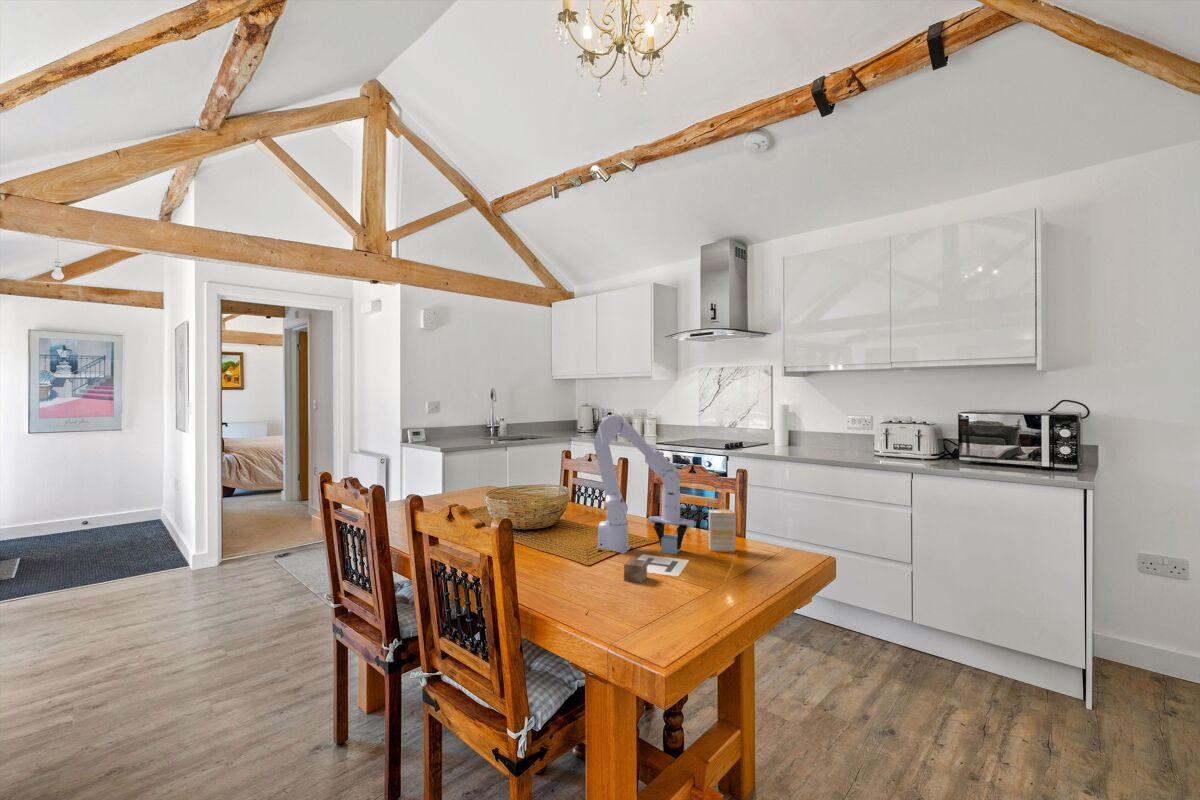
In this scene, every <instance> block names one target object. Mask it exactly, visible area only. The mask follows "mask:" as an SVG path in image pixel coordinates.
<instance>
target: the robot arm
mask: <svg viewBox="0 0 1200 800" xmlns="http://www.w3.org/2000/svg"><path fill="white" fill-rule="evenodd" d="M618 434H619V435H618ZM617 435H618V437H619V438H620V437H621V438H624V439H627V440H628V441H630V442H631V443H632V445H634V447H635V448H637V449H638V451H640V452H641V454H642V455H644V463H645V464H646V465H647V466H648V467H649V468H650V469H651V470H652V471H653V472H654V474H656V476H658V477H659V478H661V482H662V487H663V488H662V493H661V495H662V496H661V497H662V498H661V516H655V515H654V516H653V515H650V516H649V517H648V518H647V521H648V522H647V523H648V524H653V529H654V530H655V532H656V536H657V538H658V542H659V545H660V548H661V538H662V537H663V536H664V535H665V526H667V525H668V526H669V525H670V526H677V528H676V532H677V533H676V535H677V536H678V544H677V549H680V550H681V548H682V543H683V539H684V537H685V534H686V531H687V530H688V528H691V529H692V528H694V527H695V520H693V519H687V518H682V517H681V491H680V489H681V485H680V483H681V481H682V480H681V479H682V478H681V473H680V471H679V470H678V467H675V464H674V463H672V462H670V460H668V459H667V458H666V457H665V456H664V455H665V453H664V452H663V451H662V450H661V451H660V450H659V449H654V448H651V446H650V445H649V444H648V443H647V441H646V440H644V438H643V437H642V435H640V433H639V432H638V431H637V430H636V429H635V428H634V426H633V425H631V424H630V423H629V422H628V421H627V420H624V418H623V416H621V415H620V414H617V413H613V414H609V415H608V416H606V417H604V419H602V421H601V422H600V423H599V424H598V428H597V431H596V433H595V437H594V439H593V447H594V451H595V456H596V461H597V463H598V469H599V473H600V478H601V482H602V486H603V489H604V494H605V506H606V511H605V518H606V520H601V521H600V522H599V524H598V529H597V549H598V548H604V549H609V550H614V551H620V553H619V554H626V553H627V552H628V551H629V550H630V549H631V548H630V547H629V548H628V545H629V543H628V541H629V536H628V535H629V534H628V533H629V520H628V519H627V518H626V515H627V513H628V511H629V509H628V508H629V506H628V504H627V503H626V502H625V500H624V498H623V495H622V492H621V490H620V486H619V482H618V481H619V480H618V478H617V473H616V468H615V466H614V465H615V464H614V459H613V457H612V452H611V447H610V444H611V443H612V440H614V438H615V436H617Z"/></svg>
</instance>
